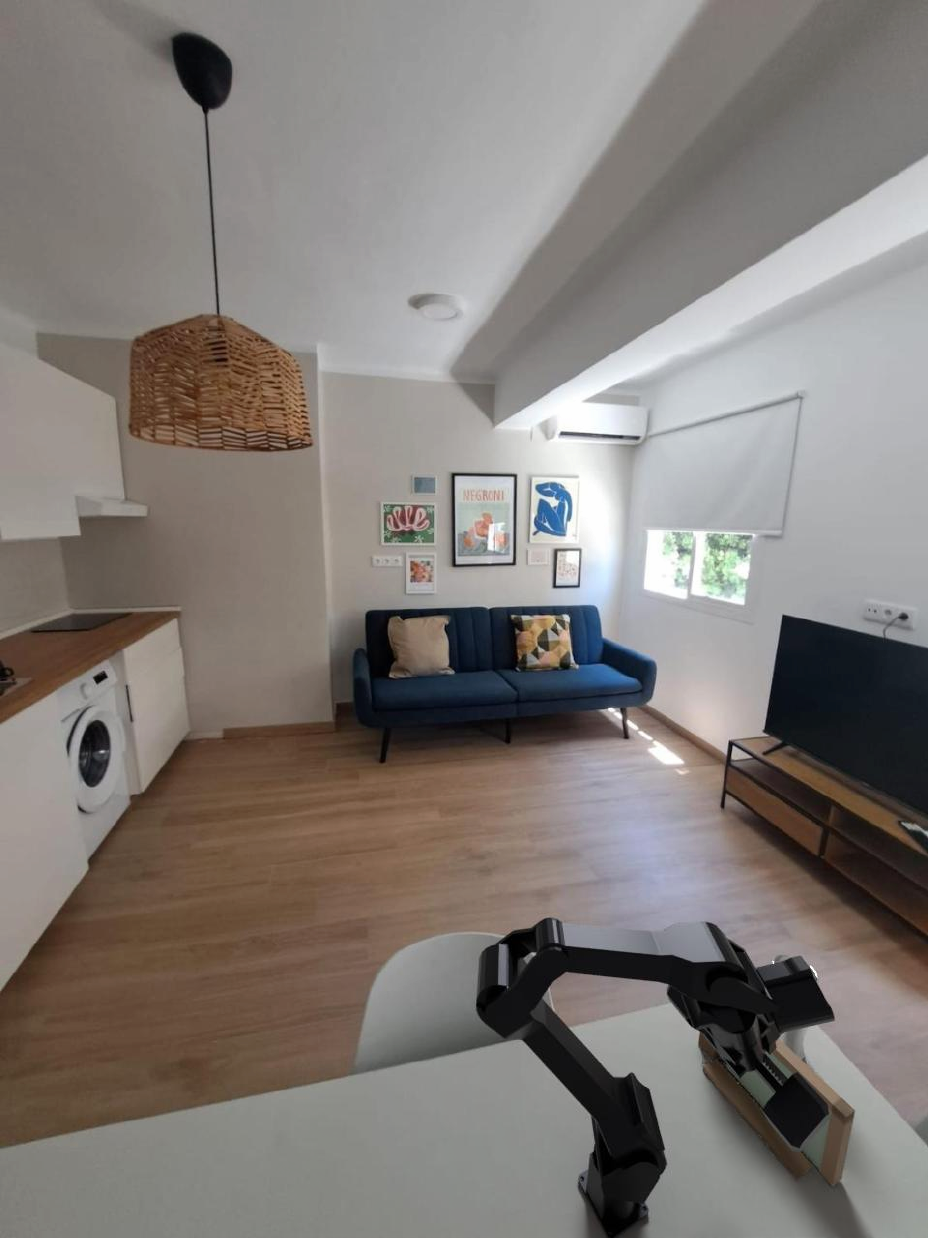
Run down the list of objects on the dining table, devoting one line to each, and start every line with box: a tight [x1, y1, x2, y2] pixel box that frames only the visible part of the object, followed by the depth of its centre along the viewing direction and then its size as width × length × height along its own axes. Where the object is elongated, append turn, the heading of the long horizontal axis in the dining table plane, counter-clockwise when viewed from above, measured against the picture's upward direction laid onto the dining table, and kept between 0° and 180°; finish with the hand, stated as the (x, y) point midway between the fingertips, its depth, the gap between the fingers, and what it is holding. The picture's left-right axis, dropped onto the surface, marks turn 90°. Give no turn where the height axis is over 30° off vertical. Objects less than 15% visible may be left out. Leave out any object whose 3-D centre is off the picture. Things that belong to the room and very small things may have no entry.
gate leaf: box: [725, 1039, 856, 1187], centre depth 72 cm, size 16×2×11 cm, turn 24°
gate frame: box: [697, 1032, 813, 1181], centre depth 74 cm, size 6×18×14 cm, turn 24°
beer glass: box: [771, 952, 820, 1061], centre depth 82 cm, size 7×7×15 cm
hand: (745, 1071), depth 66 cm, fingers open, 9 cm apart
